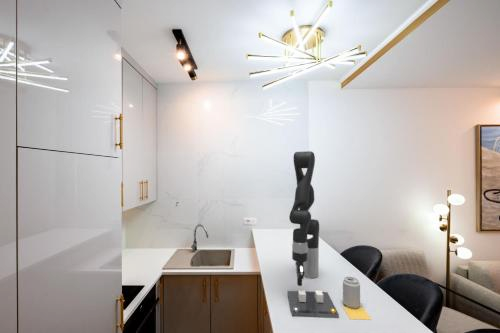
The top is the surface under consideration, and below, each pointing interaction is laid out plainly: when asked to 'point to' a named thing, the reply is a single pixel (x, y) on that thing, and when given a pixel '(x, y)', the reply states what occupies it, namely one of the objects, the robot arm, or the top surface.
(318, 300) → the block
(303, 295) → the block
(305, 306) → the panel
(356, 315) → the pad
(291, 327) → the top surface
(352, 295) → the can
